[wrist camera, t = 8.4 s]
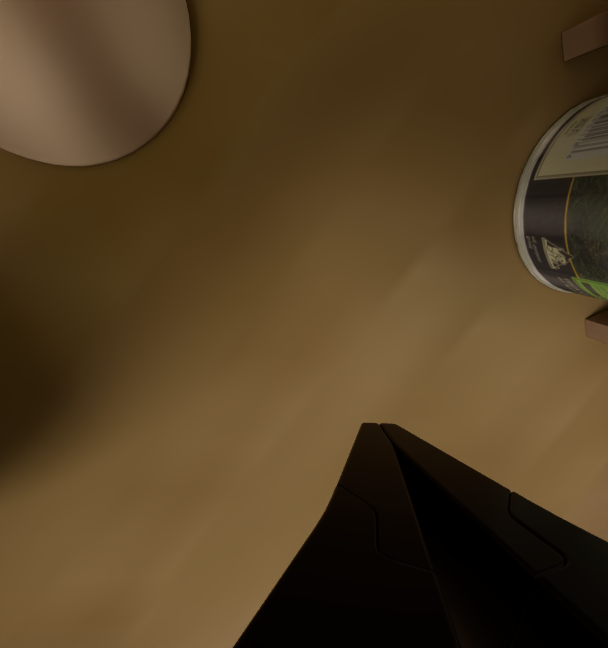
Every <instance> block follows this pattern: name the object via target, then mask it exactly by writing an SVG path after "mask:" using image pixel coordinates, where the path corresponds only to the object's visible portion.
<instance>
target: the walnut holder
mask: <svg viewBox="0 0 608 648" xmlns="http://www.w3.org/2000/svg"><path fill="white" fill-rule="evenodd" d="M562 41H563V53H564V61H567V60H569V59H572V58H575V57H577V56H580V55H583V54H586V53H588V52H591V51H594V50H596V49H599V48H602V47H604V46H607V45H608V9H607V10H605V11H603V12H601V13H599V14H597V15H595V16H593V17H591V18H589V19H588V20H586V21H584V22H582V23H580V24H578V25H576V26H574V27H572V28H570V29H568V30H566V31H564V32H562ZM585 321H586V334H587V337H589V338H592V339H595V340H598V341H601V342H603V343H606V344H608V310H606V311H604V312H601V313H599V314H597V315H594V316H592V317H590V318H587V319H585Z"/></svg>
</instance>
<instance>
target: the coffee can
mask: <svg viewBox="0 0 608 648" xmlns="http://www.w3.org/2000/svg"><path fill="white" fill-rule="evenodd" d="M513 226H514V236H515V240H516V245H517V249H518V252H519V255H520V257H521V259H522V261H523V262H524V264H525V266H526V267H527V269H528V270H529V271H530V273H531V274H532V275H533V276H534V277H535V278H536V279H537V280H539V281H540V282H541V283H543V284H544V285H546V286H548V287H550V288H553V289H555V290H558V291H562V292H568V293H577V294H581V295H585V296H589V297H593V298H598V299H602V300H605V301H608V95H603V96H599V97H595V98H593V99H590V100H587V101H585V102H583V103H581V104H579V105H578V106H576V107H574V108H572V109H570V110H569V111H568V112H567V113H566V114H565V115H563V116H562V117H561V118H560V119H559V120H558V121H557V122H556V123H555V124H554V125H552V126H551V128H550V129H549V130H548V131H547V132H546V133H545V135H544V136H543V137H542V138H541V140H540V141H539V142H538V144H537V145H536V147H535V148H534V150H533V152H532V154H531V155H530V157H529V159H528V161H527V163H526V166H525V168H524V170H523V173H522V175H521V177H520V180H519V184H518V190H517V193H516V197H515V202H514V211H513Z"/></svg>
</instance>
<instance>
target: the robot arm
mask: <svg viewBox="0 0 608 648" xmlns="http://www.w3.org/2000/svg"><path fill="white" fill-rule="evenodd" d="M233 648H608V542H607V541H605V540H603V539H601V538H599V537H597V536H595V535H593V534H591V533H589V532H587V531H585V530H583V529H581V528H579V527H577V526H575V525H573V524H572V523H570V522H568V521H566V520H564V519H562V518H560V517H558V516H556V515H554V514H553V513H551V512H549V511H547V510H545V509H544V508H542V507H540V506H538V505H536V504H535V503H533V502H531V501H529V500H527V499H526V498H524V497H522V496H521V495H519V494H517V493H515V492H511V491H510V490H509V489H507V488H505V487H504V486H502V485H500V484H499V483H497V482H495V481H493V480H492V479H490V478H488V477H486V476H485V475H483V474H481V473H479V472H478V471H476V470H474V469H473V468H471V467H469V466H467V465H466V464H464V463H462V462H460V461H459V460H457V459H455V458H453V457H452V456H450V455H448V454H446V453H445V452H443V451H441V450H440V449H438V448H436V447H434V446H433V445H431V444H429V443H427V442H426V441H424V440H422V439H420V438H419V437H417V436H415V435H414V434H412V433H410V432H408V431H407V430H405V429H403V428H401V427H400V426H398V425H396V424H388V423H381V424H377V423H362V425H361V427H360V429H359V432H358V434H357V437H356V439H355V442H354V444H353V447H352V449H351V452H350V454H349V457H348V459H347V462H346V464H345V467H344V469H343V471H342V474H341V476H340V479H339V481H338V484H337V486H336V488H335V490H334V493H333V495H332V497H331V499H330V502H329V504H328V506H327V508H326V510H325V512H324V513H323V515H322V517H321V518H320V520H319V522H318V523H317V525H316V527H315V528H314V529H313V531H312V532H311V534H310V535H309V537H308V538H307V540H306V541H305V543H304V544H303V546H302V547H301V549H300V550H299V551H298V553H297V554H296V556H295V557H294V559H293V560H292V562H291V563H290V565H289V566H288V568H287V569H286V570H285V572H284V573H283V575H282V576H281V578H280V579H279V581H278V582H277V584H276V585H275V587H274V588H273V590H272V591H271V592H270V594H269V595H268V597H267V598H266V600H265V601H264V603H263V604H262V606H261V607H260V609H259V610H258V612H257V613H256V614H255V616H254V617H253V619H252V620H251V622H250V623H249V625H248V626H247V628H246V629H245V631H244V632H243V633H242V635H241V636H240V638H239V639H238V641H237V642H236V644H235V645H234V647H233Z"/></svg>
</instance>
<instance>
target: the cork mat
mask: <svg viewBox="0 0 608 648" xmlns="http://www.w3.org/2000/svg"><path fill="white" fill-rule="evenodd" d="M190 61H191V29H190V19H189V14H188V9H187V4H186V0H0V148H2V149H4V150H6V151H9V152H12V153H14V154H17V155H20V156H22V157H25V158H28V159H32V160H36V161H40V162H44V163H49V164H54V165H62V166H92V165H100V164H105V163H109V162H112V161H116V160H119V159H121V158H123V157H126V156H128V155H130V154H132V153H134V152H136V151H137V150H139V149H140V148H142V147H144V146H145V145H147V144H148V143H149V142H150V141H151V140H152V139H153V138H155V137H156V136H157V135H158V134H159V133H160V132H161V130H162V129H163V128H164V127H165V126H166V124H167V123H168V122H169V120H170V119H171V117H172V115H173V114H174V112H175V111H176V109H177V107H178V105H179V102H180V100H181V98H182V95H183V93H184V90H185V86H186V82H187V79H188V75H189V68H190Z"/></svg>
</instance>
